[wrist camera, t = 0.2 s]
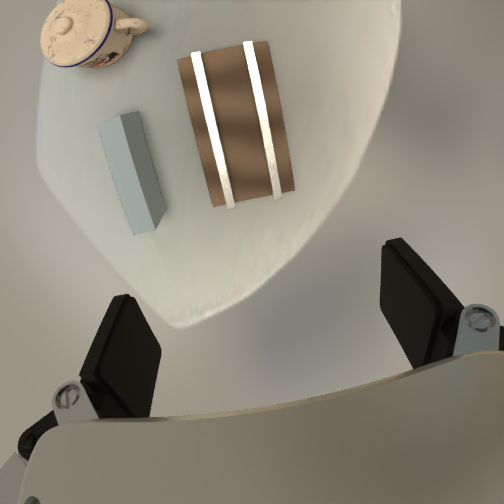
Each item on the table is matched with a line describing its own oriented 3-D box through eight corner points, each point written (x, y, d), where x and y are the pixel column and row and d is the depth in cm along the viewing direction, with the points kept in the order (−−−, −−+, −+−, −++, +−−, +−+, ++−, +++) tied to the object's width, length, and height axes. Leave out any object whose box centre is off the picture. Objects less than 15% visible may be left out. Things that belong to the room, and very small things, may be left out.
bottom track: (178, 60, 31) (174, 58, 29) (266, 42, 31) (269, 38, 28) (213, 204, 41) (212, 212, 39) (293, 188, 41) (297, 195, 38)
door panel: (118, 118, 34) (96, 124, 28) (138, 111, 34) (120, 115, 28) (147, 213, 41) (133, 235, 35) (166, 208, 41) (155, 229, 35)
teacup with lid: (72, 73, 30) (22, 74, 20) (78, 14, 26) (32, -2, 16) (154, 65, 31) (123, 55, 21) (162, 2, 27) (135, -28, 17)
